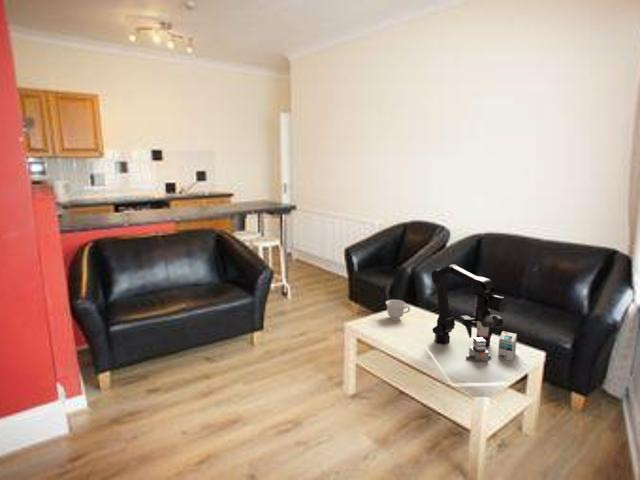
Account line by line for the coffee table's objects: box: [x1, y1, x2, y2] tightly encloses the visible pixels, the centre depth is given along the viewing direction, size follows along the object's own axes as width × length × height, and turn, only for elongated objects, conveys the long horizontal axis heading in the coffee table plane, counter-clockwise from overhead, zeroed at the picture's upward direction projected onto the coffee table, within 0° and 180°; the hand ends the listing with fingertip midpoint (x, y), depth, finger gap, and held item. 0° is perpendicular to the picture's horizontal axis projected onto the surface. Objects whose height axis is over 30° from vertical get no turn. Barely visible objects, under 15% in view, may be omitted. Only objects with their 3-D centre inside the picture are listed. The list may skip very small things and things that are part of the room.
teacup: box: [385, 299, 411, 321], centre depth 237 cm, size 12×15×10 cm
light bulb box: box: [497, 330, 518, 362], centre depth 190 cm, size 11×7×11 cm, turn 148°
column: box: [472, 336, 487, 352], centre depth 186 cm, size 4×4×10 cm
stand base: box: [465, 345, 492, 363], centre depth 187 cm, size 12×12×6 cm
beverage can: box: [476, 322, 491, 348], centre depth 201 cm, size 7×7×15 cm
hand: (479, 337), depth 185 cm, fingers open, 9 cm apart
